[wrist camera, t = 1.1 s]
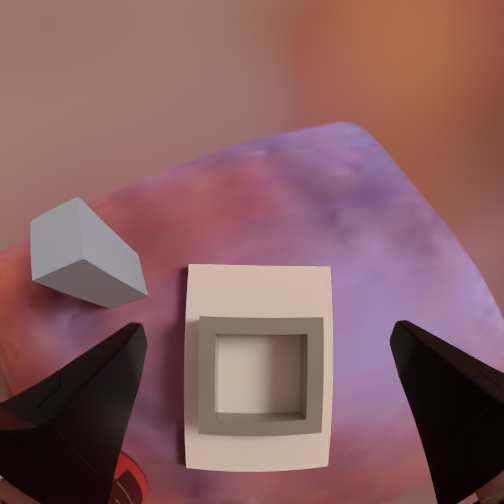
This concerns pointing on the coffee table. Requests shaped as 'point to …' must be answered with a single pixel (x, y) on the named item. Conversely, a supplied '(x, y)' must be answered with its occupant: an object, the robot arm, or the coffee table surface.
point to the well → (258, 367)
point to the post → (84, 257)
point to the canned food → (128, 482)
